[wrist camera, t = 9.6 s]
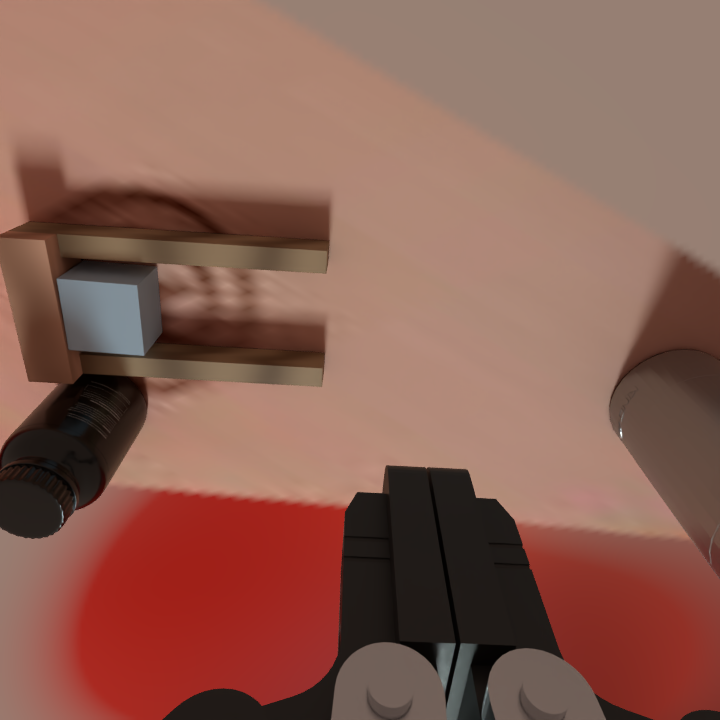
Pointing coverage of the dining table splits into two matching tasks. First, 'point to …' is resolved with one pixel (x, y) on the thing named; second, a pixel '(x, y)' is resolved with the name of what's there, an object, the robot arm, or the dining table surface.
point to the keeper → (111, 307)
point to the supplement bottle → (67, 452)
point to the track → (75, 242)
